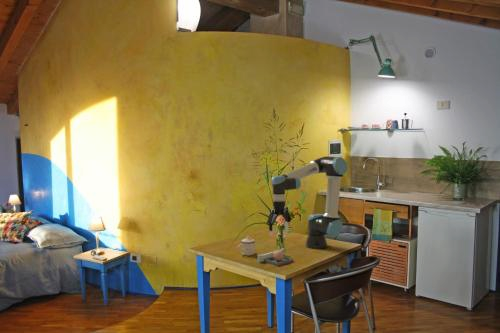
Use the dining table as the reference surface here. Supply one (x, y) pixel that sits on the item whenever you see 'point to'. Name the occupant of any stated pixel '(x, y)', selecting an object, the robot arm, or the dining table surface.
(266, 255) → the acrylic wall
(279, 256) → the ball
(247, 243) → the teacup with lid
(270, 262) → the tray
